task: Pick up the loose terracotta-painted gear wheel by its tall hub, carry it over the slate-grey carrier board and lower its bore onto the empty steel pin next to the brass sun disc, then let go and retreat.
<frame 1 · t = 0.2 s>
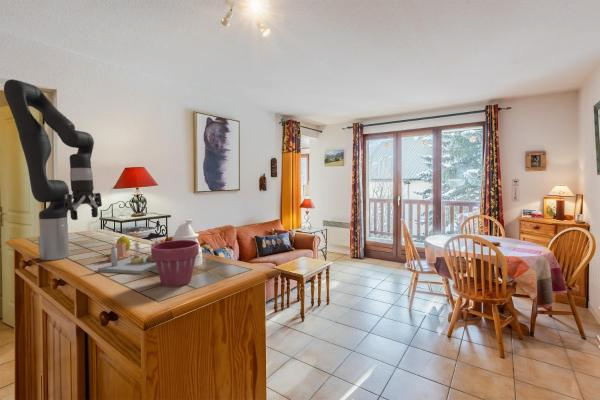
hand: (85, 218, 124), 17 cm above the table, tool pointing down, fingers open, 8 cm apart
plant pot: (176, 283, 98), on the table
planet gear: (119, 259, 126), on the table
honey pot: (185, 264, 120), on the table
lemon: (123, 253, 136), on the table
carrier: (137, 265, 117), on the table
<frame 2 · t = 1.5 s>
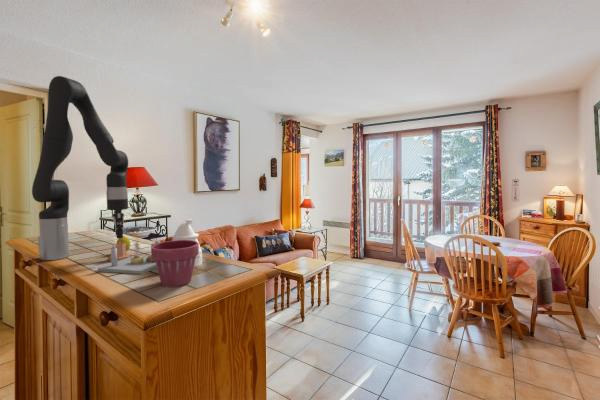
hand: (119, 236, 125), 10 cm above the table, tool pointing down, fingers open, 8 cm apart
nothing on the table moved.
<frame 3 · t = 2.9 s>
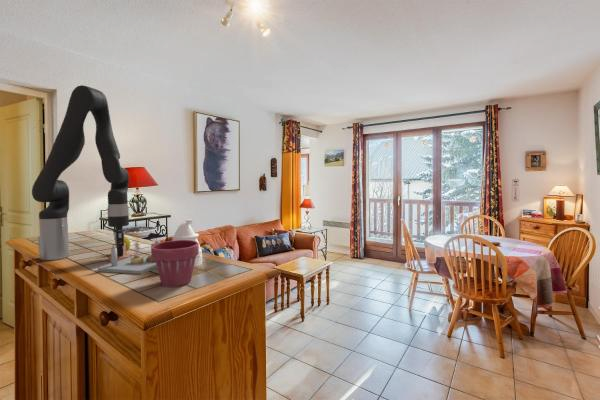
hand: (119, 254, 126), 2 cm above the table, tool pointing down, fingers closed on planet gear, 4 cm apart
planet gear: (119, 259, 126), on the table, touching gripper
everything else where it was.
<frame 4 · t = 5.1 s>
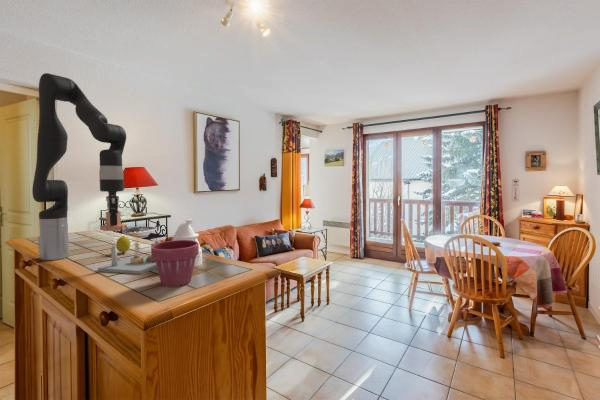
hand: (113, 223, 112), 17 cm above the table, tool pointing down, fingers closed on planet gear, 4 cm apart
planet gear: (113, 229, 112), point 15 cm above the table, touching gripper
everything else where it was.
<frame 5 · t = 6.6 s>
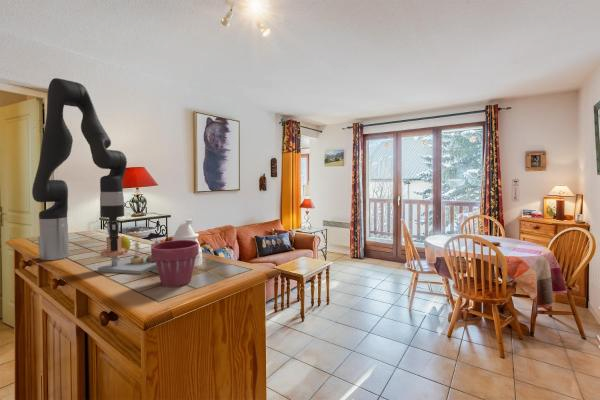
hand: (113, 249, 112), 8 cm above the table, tool pointing down, fingers closed on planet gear, 4 cm apart
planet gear: (114, 254, 112), point 6 cm above the table, touching gripper
everything else where it was.
when the fingers open (5 cm above the table, at t = 7.6 s): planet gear drops 2 cm, resting on carrier.
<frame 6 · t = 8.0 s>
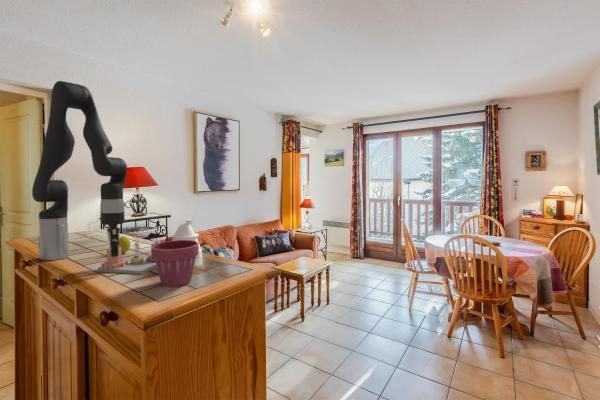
hand: (114, 254, 112), 6 cm above the table, tool pointing down, fingers open, 8 cm apart
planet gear: (114, 265, 113), point 1 cm above the table, touching carrier
everything else where it was.
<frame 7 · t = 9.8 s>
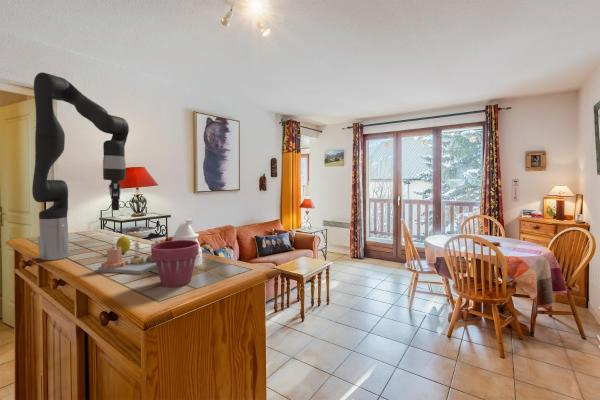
hand: (115, 209, 118), 22 cm above the table, tool pointing down, fingers open, 8 cm apart
nothing on the table moved.
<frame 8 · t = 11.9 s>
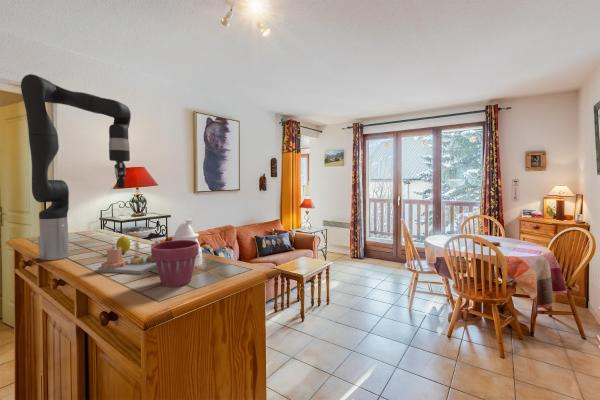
hand: (120, 187, 129), 30 cm above the table, tool pointing down, fingers open, 8 cm apart
nothing on the table moved.
at the end: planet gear 0.0 cm from the target spot on the carrier, point 1.2 cm above the carrier's base; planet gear tilted 0°; the gripper is holding nothing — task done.
